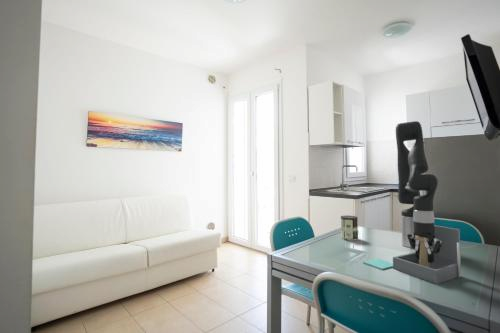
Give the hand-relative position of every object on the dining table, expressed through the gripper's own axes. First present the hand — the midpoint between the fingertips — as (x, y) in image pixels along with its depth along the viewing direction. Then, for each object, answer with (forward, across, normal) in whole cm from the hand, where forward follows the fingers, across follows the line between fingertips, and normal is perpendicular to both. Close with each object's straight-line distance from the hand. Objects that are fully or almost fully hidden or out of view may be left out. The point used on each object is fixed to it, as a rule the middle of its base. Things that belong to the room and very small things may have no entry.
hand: (424, 260), depth 111 cm
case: (+5, 0, 0) cm, 5 cm away
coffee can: (+5, +56, -15) cm, 58 cm away
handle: (+5, 0, 0) cm, 5 cm away
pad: (+5, +15, +9) cm, 18 cm away
